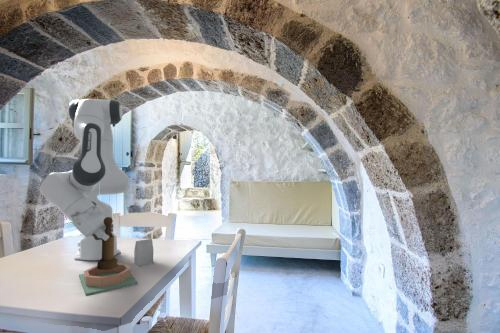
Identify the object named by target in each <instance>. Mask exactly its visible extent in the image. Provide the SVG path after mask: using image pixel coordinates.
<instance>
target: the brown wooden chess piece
mask: <svg viewBox="0 0 500 333" xmlns="http://www.w3.org/2000/svg"><path fill="white" fill-rule="evenodd" d="M113 222H114V220H113V217H112V218H111V217H106V218H105V219H104V224H105V226H106V229H105V233H107V234H108V235H109V236H110V237H109V238H108V239H107V240H106V241H104V240H103V239H102V259H100V260H97V265H96V266H97V268H98V269H99V270H109V269H113V268H116V267H117V266H118V262H119V261H118V258H116V257H115V255H114V236H113V235H111V231H112V229H111V228H110V226H111V224H113Z"/></svg>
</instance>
